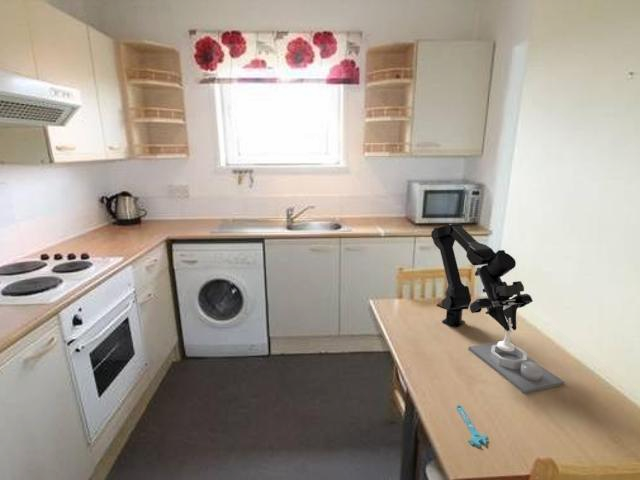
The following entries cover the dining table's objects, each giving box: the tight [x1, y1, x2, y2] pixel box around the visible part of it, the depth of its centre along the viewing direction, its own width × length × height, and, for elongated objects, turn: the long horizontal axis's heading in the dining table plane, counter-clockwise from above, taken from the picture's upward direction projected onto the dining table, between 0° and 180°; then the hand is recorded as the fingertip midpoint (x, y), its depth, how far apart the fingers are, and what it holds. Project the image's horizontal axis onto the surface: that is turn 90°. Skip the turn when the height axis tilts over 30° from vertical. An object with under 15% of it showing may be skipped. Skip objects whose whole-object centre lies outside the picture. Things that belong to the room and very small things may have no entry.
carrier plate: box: [467, 340, 565, 395], centre depth 115 cm, size 24×14×4 cm, turn 16°
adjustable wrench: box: [455, 405, 489, 448], centre depth 91 cm, size 14×1×5 cm
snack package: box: [435, 301, 443, 308], centre depth 160 cm, size 12×2×5 cm
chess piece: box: [497, 318, 515, 351], centre depth 113 cm, size 5×5×10 cm
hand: (511, 330), depth 111 cm, fingers closed on chess piece
